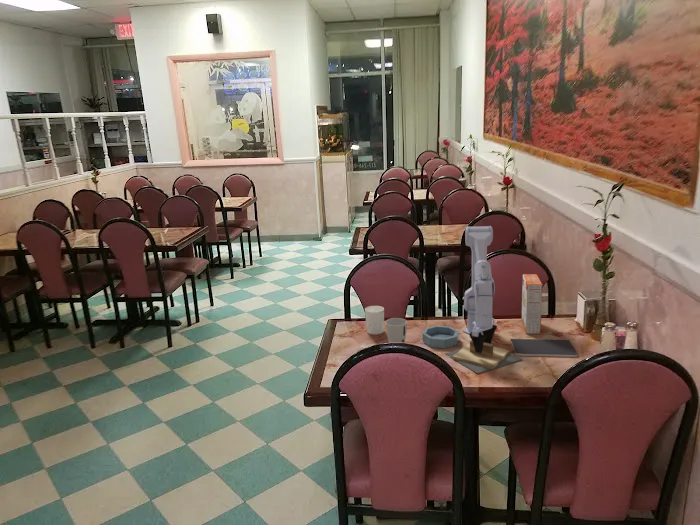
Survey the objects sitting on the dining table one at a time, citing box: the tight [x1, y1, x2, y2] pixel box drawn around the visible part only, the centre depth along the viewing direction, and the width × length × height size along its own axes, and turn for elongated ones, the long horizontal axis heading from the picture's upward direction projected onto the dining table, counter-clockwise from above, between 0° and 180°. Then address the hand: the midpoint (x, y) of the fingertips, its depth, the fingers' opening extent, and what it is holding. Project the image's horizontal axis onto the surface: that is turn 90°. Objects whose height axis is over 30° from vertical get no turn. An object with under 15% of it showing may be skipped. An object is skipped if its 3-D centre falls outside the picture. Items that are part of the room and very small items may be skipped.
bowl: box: [422, 325, 459, 349], centre depth 197 cm, size 13×13×4 cm
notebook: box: [510, 338, 578, 358], centre depth 186 cm, size 13×2×21 cm
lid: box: [452, 339, 511, 370], centre depth 181 cm, size 15×15×5 cm
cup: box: [384, 317, 408, 344], centre depth 194 cm, size 8×8×10 cm
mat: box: [444, 342, 523, 375], centre depth 182 cm, size 20×18×1 cm
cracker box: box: [521, 273, 543, 335], centre depth 203 cm, size 14×6×21 cm, turn 169°
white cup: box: [364, 305, 385, 335], centre depth 208 cm, size 8×8×10 cm
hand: (483, 348), depth 181 cm, fingers open, 7 cm apart
